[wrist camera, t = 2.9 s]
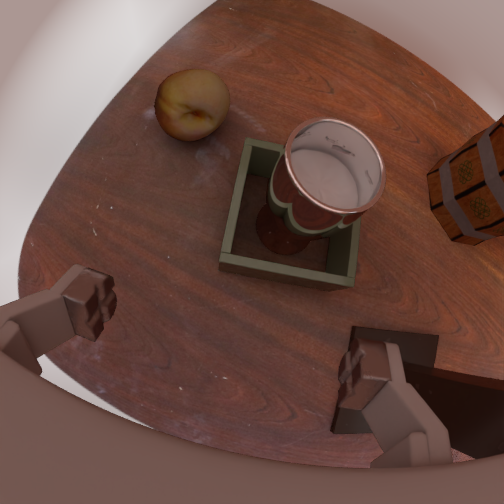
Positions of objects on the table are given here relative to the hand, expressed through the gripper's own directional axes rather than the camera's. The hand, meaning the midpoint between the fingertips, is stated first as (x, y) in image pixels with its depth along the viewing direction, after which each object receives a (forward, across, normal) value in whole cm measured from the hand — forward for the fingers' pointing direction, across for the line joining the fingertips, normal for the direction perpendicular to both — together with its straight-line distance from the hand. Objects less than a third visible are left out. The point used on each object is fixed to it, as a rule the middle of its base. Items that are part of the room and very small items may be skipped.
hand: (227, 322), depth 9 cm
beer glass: (+22, -2, +7) cm, 23 cm away
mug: (+32, -29, +2) cm, 43 cm away
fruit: (+27, +11, 0) cm, 29 cm away
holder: (+22, -2, +7) cm, 23 cm away
